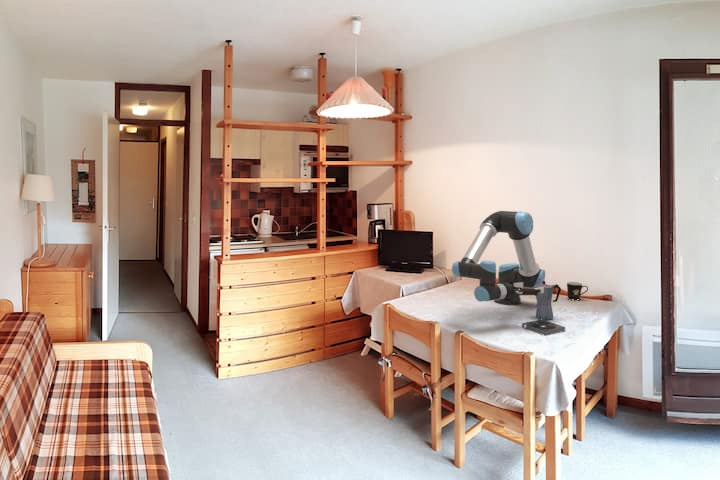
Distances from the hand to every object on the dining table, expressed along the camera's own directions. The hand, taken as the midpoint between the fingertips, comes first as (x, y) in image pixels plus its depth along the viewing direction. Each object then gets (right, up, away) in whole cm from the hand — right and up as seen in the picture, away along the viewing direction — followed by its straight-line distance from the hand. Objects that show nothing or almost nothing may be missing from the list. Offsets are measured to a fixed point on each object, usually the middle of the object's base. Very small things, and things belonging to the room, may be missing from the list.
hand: (532, 287), depth 240 cm
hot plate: (+1, -19, -12) cm, 23 cm away
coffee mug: (+43, -12, +45) cm, 64 cm away
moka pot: (+9, -17, +7) cm, 21 cm away
